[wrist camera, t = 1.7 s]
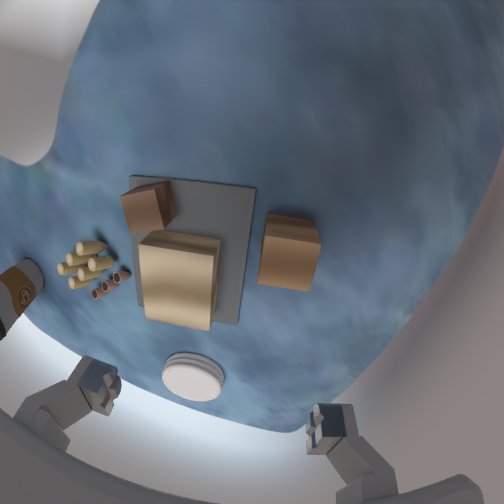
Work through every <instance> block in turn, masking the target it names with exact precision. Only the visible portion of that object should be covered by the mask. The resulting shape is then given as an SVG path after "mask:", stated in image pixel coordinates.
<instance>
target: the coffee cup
mask: <svg viewBox="0 0 504 504" xmlns="http://www.w3.org/2000/svg"><path fill="white" fill-rule="evenodd" d="M43 285H44V277H43V274H42V272H41V270H40V268H39V267H38V265H37V264H36V263H35V262H34V261H32V260H31V259H24V260H22V261H20V262H19V263H17V264H16V265H15V266H13V267H11V268H9V269H8V270H7V271H5V272H4V273H2V274H1V275H0V341H1V340H2V339H3V338H4V337H5V336H6V333H7V332H8V331H9V329H10V328H11V327H12V325H13V324H14V323H15V321H16V320H17V319H18V318H19V317H20V316H21V314H22V313H23V312H24V311H25V309H26V308H27V307H28V306H29V305H30V303H31V302H32V301H33V300H34V298H35V297H36V296H37V294H38V293H39V292H40V291H41V290H42V288H43Z"/></svg>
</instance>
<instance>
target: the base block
mask: <svg viewBox="0 0 504 504" xmlns="http://www.w3.org/2000/svg"><path fill="white" fill-rule="evenodd" d="M220 245H221V239H217V238H210V237H203V236H197V235H190V234H183V233H176V232H169V231H162V230H153V231H151V232H150V233H149V234H148V235H147V236H146V237H145V238H144V239H143V240H142V241H141V242H140V243H139V244H138V246H139V260H140V271H141V281H142V291H143V299H144V307H145V314H146V318H148V319H153V320H157V321H162V322H166V323H171V324H175V325H180V326H185V327H190V328H195V329H200V330H206V331H210V327H211V324H212V320H213V317H214V314H215V310H216V296H217V282H218V269H219V257H220Z"/></svg>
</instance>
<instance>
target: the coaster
mask: <svg viewBox="0 0 504 504" xmlns="http://www.w3.org/2000/svg"><path fill="white" fill-rule="evenodd" d="M162 380H163V382H164V384H165V385H166V387H167V388H168V389H169V390H171V391H172V392H173V393H175V394H176V395H178V396H180V397H183V398H185V399H189V400H193V401H209V400H212V399H215V398H217V397H218V396H219V395H220V393H221V391H222V386H223V381H224V374H223V371H222V369H221V368H220V367H219V366H218V365H217V364H216V363H215V362H214V361H212V360H211V359H209V358H207V357H204V356H202V355H199V354H195V353H177V354H174V355H172V356H171V357H170V358H169V359H168V360H167V362H166V365H165V367H164V370H163V372H162Z"/></svg>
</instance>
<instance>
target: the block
mask: <svg viewBox="0 0 504 504" xmlns="http://www.w3.org/2000/svg"><path fill="white" fill-rule="evenodd" d="M120 199H121V203H122V207H123V210H124V214H125V218H126V221H127V225H128V228H129V231H130V234H131V233H139V232H146V231H153V230H161V229H165V228H166V227H167V226H168V225H169V223H170V222H171V221H172V220H173V219H174V218H175V217H176V216H177V211H176V207H175V202H174V198H173V193H172V189H171V184H170V180H166V181H161V182H156V183H151V184H146V185H141V186H137V187H135V188H134V189H132V190H130V191H128V192H127V193H125V194H123V195H121V196H120Z"/></svg>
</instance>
